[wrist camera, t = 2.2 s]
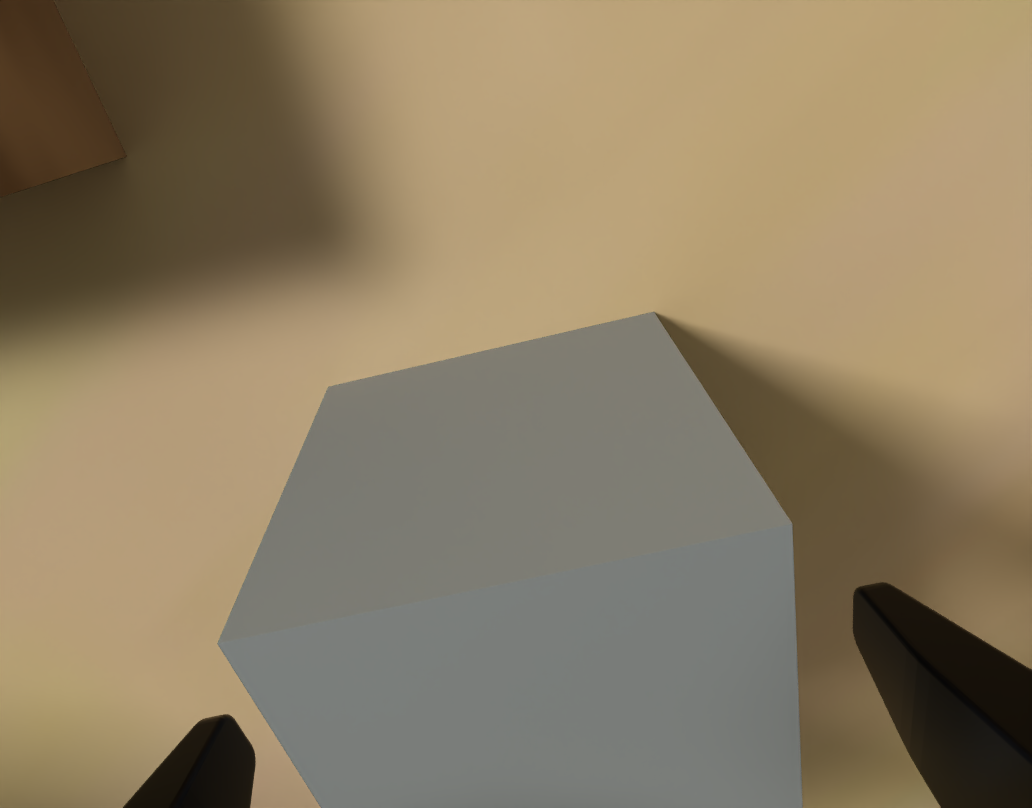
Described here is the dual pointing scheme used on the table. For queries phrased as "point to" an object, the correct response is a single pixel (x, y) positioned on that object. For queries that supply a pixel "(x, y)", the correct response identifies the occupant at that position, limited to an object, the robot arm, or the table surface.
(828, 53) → the table surface
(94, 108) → the walnut block
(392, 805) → the slate cube
